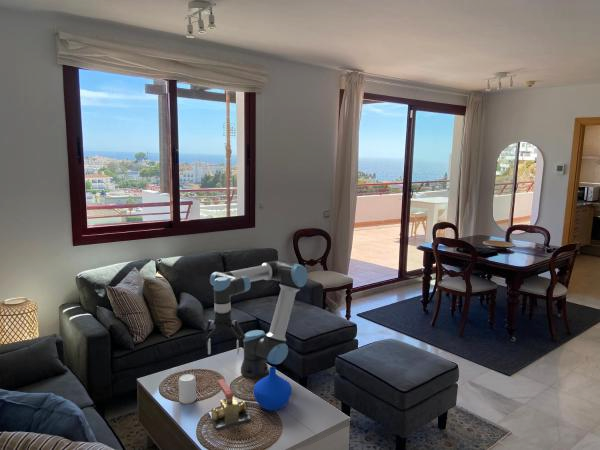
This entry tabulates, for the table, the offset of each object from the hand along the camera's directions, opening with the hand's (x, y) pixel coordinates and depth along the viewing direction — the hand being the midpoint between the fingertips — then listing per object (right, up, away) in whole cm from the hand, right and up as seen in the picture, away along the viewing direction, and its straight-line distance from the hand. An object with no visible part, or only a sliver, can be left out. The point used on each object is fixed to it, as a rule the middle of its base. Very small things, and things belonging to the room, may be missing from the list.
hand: (223, 353), depth 212 cm
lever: (+1, -17, -3) cm, 17 cm away
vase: (+23, -27, +5) cm, 35 cm away
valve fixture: (+4, -28, -6) cm, 29 cm away
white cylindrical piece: (-19, -26, +8) cm, 33 cm away
